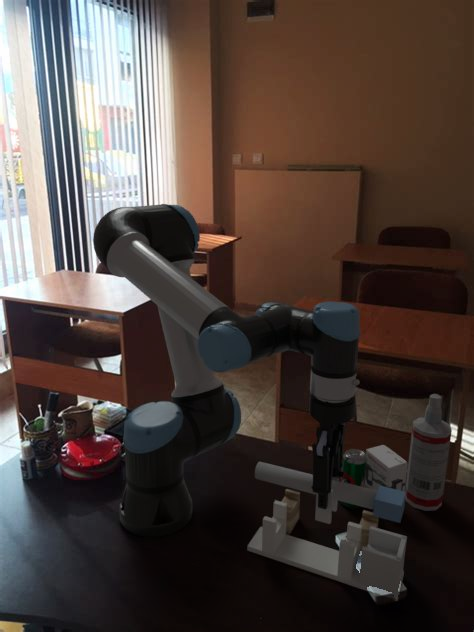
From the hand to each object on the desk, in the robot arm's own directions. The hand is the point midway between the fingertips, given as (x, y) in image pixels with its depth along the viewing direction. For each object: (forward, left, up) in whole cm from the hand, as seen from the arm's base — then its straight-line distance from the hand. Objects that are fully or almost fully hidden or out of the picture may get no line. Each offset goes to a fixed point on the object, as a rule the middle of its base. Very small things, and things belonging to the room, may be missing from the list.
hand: (326, 514), depth 97 cm
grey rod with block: (0, 0, +4) cm, 4 cm away
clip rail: (0, 0, -11) cm, 11 cm away
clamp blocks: (-3, +8, -11) cm, 13 cm away
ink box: (+6, +24, -11) cm, 27 cm away
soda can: (0, +21, -11) cm, 23 cm away
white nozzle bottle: (+14, +29, -11) cm, 34 cm away
